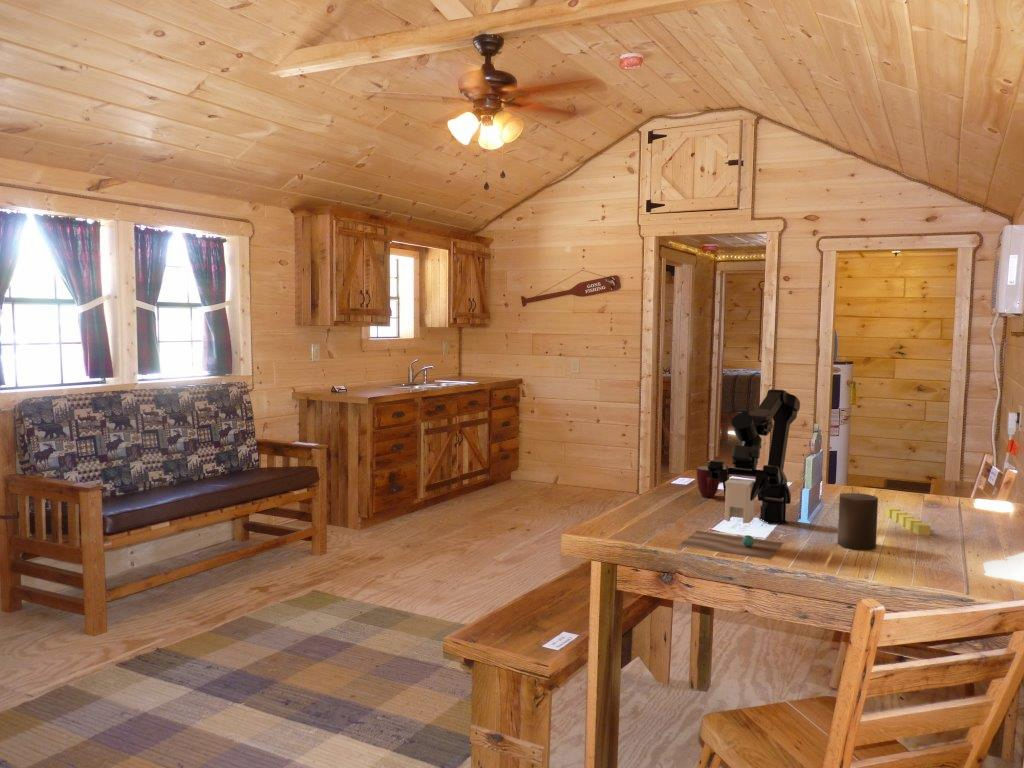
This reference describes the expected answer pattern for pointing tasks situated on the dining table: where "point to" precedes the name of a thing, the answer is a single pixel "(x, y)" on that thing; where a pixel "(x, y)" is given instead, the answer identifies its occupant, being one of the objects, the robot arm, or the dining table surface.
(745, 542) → the marble
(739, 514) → the cream matte box
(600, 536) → the dining table surface
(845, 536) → the pillar candle
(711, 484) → the mug
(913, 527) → the yellow stair block
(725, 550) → the board
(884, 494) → the dining table surface
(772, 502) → the robot arm
